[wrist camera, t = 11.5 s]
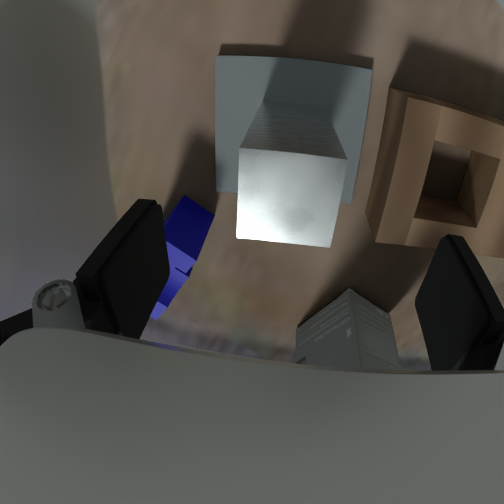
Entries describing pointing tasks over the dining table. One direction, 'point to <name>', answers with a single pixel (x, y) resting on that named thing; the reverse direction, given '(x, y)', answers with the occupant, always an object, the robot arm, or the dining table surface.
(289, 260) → the dining table surface
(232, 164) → the rubber mat
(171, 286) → the cable clip
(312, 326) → the skincare box
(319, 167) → the steel bar
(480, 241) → the wooden block with hole
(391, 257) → the dining table surface
